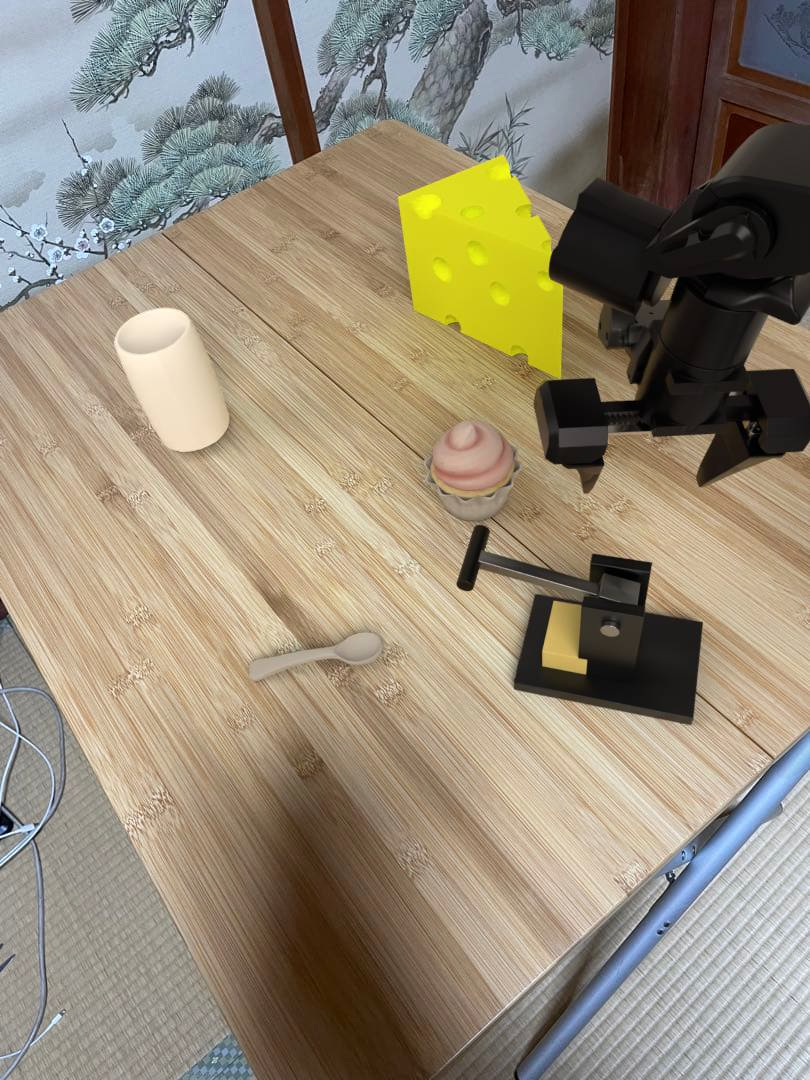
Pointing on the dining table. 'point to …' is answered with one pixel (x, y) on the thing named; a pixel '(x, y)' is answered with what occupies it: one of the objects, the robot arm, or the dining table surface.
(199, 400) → the cup
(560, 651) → the butter
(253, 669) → the spoon
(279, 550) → the dining table surface
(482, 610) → the dining table surface
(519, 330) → the cheese wedge
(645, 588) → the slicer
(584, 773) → the dining table surface
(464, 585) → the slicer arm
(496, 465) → the cupcake
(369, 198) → the dining table surface
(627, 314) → the robot arm
